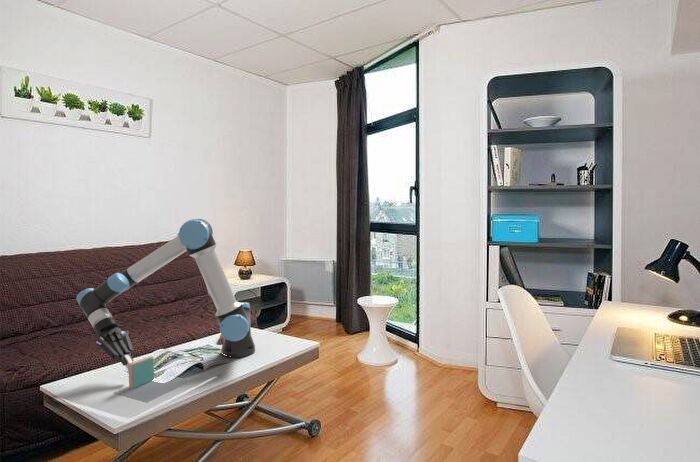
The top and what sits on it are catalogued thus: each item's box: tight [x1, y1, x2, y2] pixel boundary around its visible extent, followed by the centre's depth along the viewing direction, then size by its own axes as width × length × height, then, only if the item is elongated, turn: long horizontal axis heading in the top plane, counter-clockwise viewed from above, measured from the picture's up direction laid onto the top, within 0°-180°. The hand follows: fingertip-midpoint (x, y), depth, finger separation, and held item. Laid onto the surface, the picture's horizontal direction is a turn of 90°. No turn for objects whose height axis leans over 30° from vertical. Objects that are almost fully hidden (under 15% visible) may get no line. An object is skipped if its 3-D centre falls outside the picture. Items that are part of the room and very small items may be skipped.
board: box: [113, 376, 193, 403], centre depth 158 cm, size 18×20×1 cm
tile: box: [127, 355, 155, 389], centre depth 160 cm, size 2×9×9 cm, turn 153°
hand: (133, 370), depth 162 cm, fingers closed
